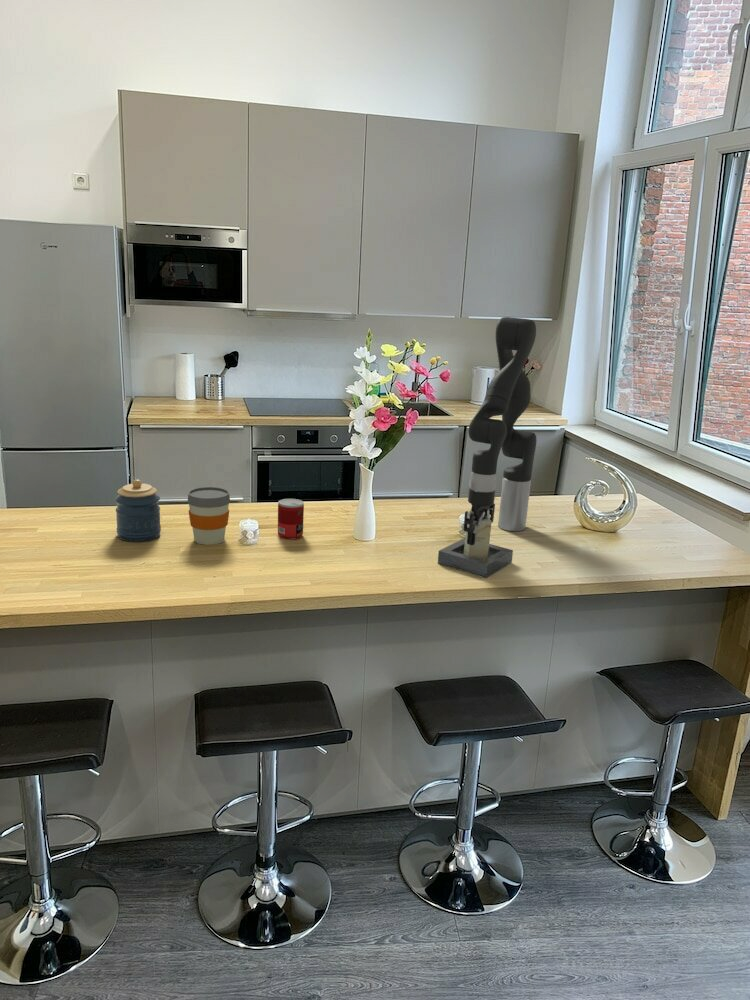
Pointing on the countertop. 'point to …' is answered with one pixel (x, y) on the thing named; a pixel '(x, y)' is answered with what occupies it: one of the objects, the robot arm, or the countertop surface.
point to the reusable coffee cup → (208, 514)
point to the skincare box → (479, 541)
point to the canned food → (290, 518)
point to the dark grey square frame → (475, 559)
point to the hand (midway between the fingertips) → (477, 541)
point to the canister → (138, 512)
